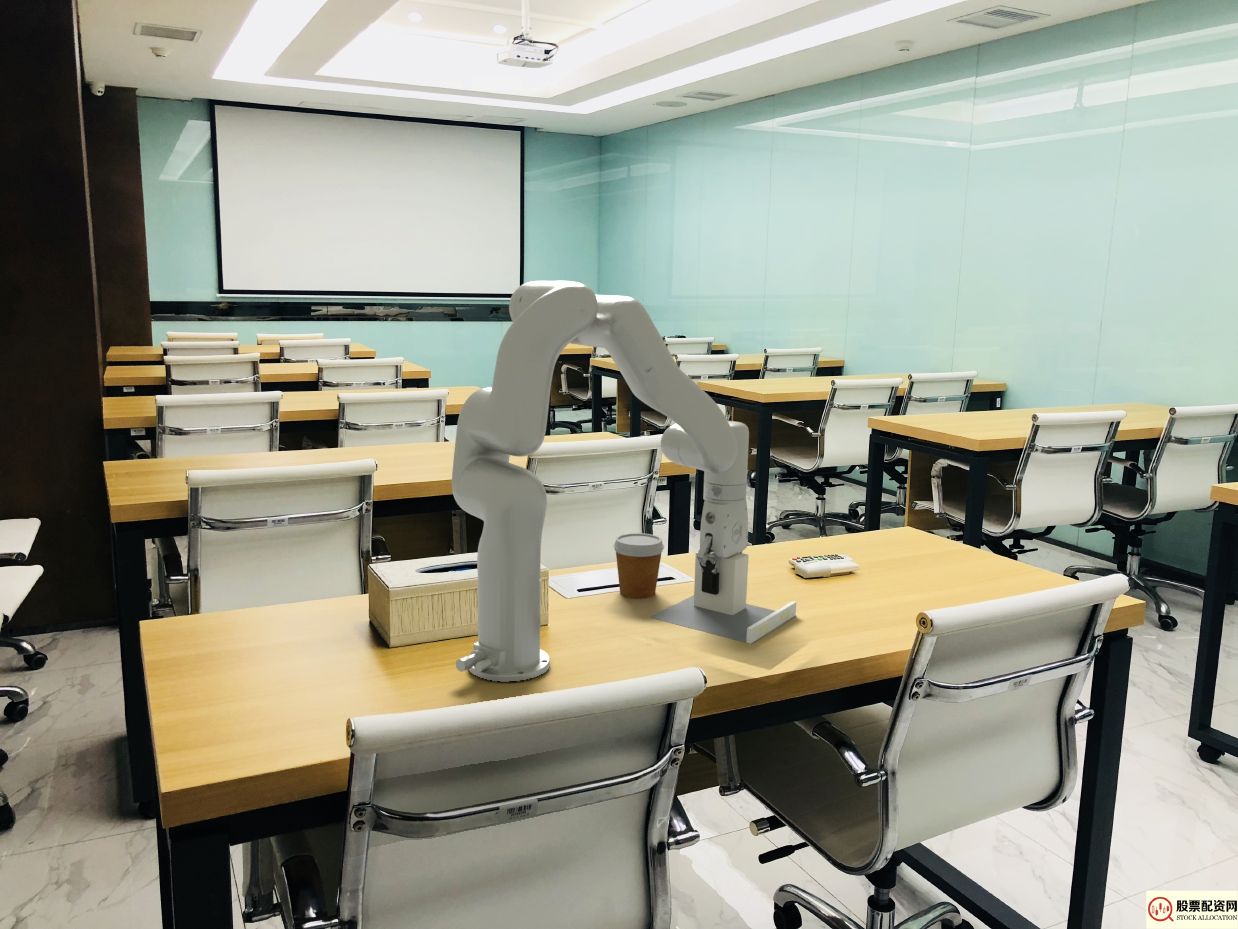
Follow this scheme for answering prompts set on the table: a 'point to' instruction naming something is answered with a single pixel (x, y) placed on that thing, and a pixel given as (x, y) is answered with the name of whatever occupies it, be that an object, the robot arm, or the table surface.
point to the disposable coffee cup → (638, 564)
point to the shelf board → (728, 620)
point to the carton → (724, 585)
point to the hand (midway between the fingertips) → (720, 587)
